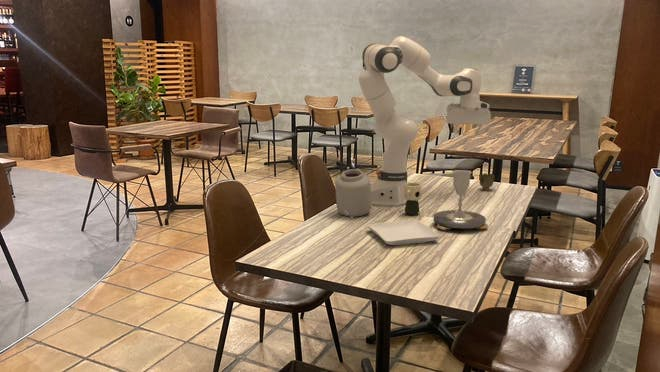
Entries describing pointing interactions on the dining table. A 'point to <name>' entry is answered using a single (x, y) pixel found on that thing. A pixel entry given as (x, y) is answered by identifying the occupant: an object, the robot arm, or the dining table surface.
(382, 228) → the salad plate
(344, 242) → the dining table surface
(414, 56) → the robot arm
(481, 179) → the cup
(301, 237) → the dining table surface
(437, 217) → the plate
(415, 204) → the character mug
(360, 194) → the jar
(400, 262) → the dining table surface
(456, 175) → the chalice
